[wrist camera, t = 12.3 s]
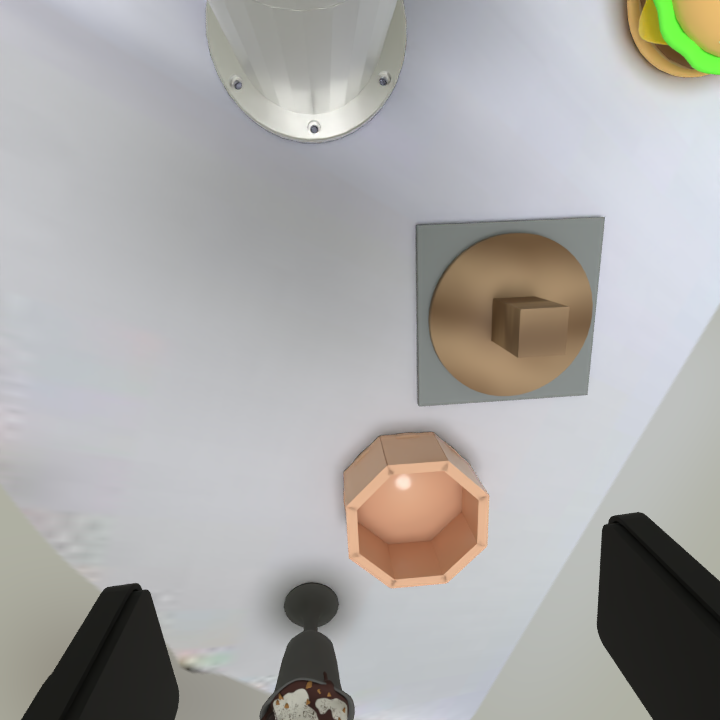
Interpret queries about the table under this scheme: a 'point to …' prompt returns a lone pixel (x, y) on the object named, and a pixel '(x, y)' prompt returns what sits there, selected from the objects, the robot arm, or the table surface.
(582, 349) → the mat
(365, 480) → the bowl
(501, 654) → the table surface
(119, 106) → the table surface
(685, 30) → the hamburger
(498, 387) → the lid
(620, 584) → the robot arm
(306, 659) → the sundae
